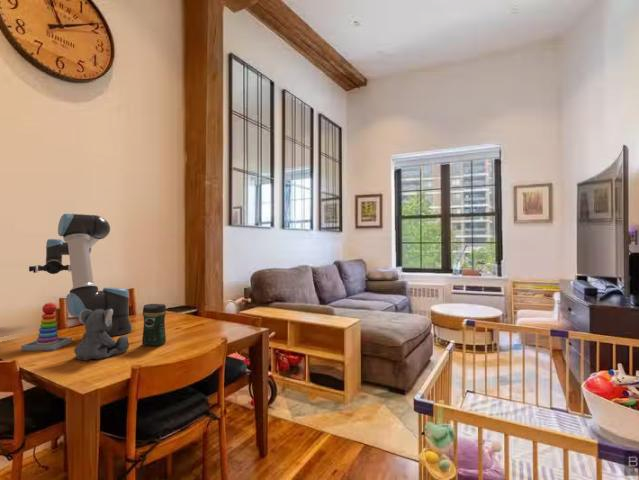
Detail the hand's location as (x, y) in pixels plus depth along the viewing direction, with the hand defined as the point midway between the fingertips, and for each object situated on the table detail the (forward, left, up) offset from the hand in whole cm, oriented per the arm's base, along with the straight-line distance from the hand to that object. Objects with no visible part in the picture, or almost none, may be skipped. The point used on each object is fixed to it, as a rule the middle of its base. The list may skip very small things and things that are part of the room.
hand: (53, 269), depth 183 cm
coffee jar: (-59, +25, -33) cm, 72 cm away
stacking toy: (-14, +26, -32) cm, 44 cm away
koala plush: (-42, +40, -33) cm, 67 cm away
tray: (-14, +26, -32) cm, 44 cm away
